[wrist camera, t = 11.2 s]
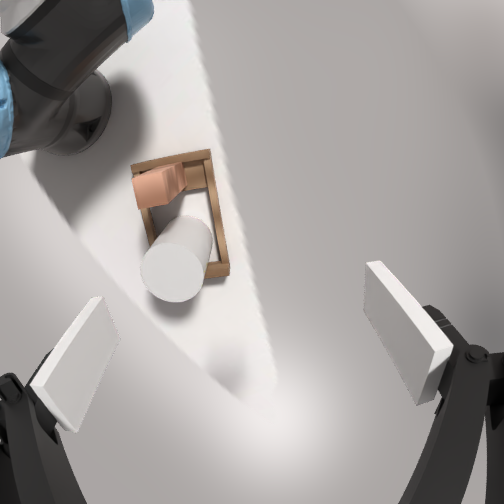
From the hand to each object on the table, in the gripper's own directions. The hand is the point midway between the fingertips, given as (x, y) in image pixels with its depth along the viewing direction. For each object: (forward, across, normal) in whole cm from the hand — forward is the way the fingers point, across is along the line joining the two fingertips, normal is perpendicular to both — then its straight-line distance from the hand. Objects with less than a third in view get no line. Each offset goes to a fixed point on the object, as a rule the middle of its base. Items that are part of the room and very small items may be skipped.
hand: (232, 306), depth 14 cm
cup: (+33, -10, -7) cm, 35 cm away
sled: (+33, -9, -3) cm, 34 cm away
